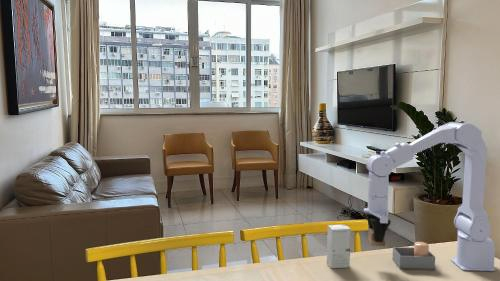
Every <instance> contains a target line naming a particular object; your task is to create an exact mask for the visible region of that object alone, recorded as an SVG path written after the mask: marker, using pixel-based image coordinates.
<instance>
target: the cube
mask: <svg viewBox="0 0 500 281" xmlns="http://www.w3.org/2000/svg"><path fill="white" fill-rule="evenodd" d="M367 240H368V243H369V244H370V246H371V247H386V235H385V236H384V239H383V242H375V239H374V231H373V229H371V228H370V227H368V239H367Z"/></svg>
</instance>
